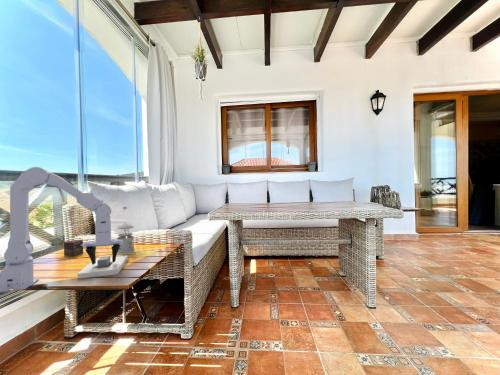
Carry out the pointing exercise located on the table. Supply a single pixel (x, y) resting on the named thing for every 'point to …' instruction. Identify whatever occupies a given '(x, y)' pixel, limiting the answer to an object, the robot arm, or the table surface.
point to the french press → (126, 240)
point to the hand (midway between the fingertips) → (104, 262)
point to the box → (73, 247)
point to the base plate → (111, 270)
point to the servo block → (103, 262)
